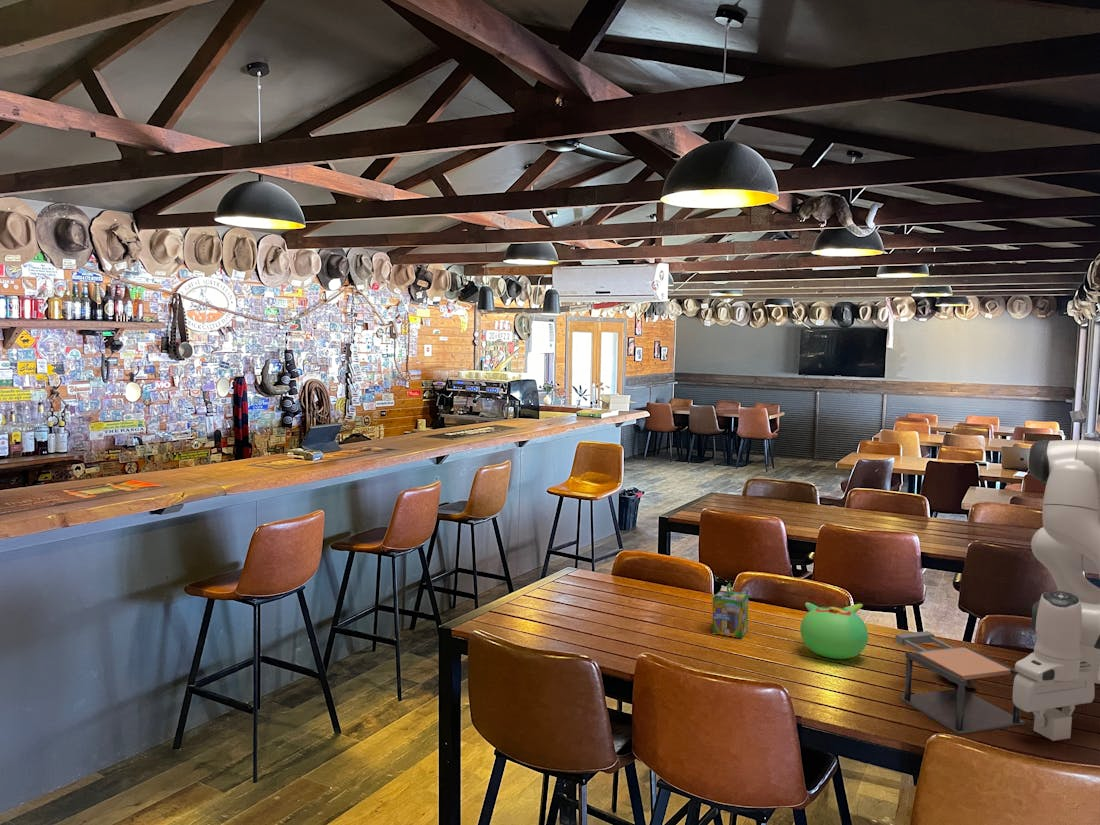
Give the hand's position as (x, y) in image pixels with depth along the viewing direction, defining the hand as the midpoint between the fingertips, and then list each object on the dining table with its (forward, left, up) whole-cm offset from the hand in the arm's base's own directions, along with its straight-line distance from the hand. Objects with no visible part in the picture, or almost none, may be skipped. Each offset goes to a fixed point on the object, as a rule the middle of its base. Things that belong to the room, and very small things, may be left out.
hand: (1052, 724), depth 180 cm
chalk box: (+38, -77, -3) cm, 86 cm away
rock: (-2, -29, -3) cm, 30 cm away
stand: (+11, -15, -2) cm, 19 cm away
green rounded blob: (+19, -53, -3) cm, 56 cm away
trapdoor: (+11, -20, +9) cm, 25 cm away
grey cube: (0, 0, -2) cm, 2 cm away
